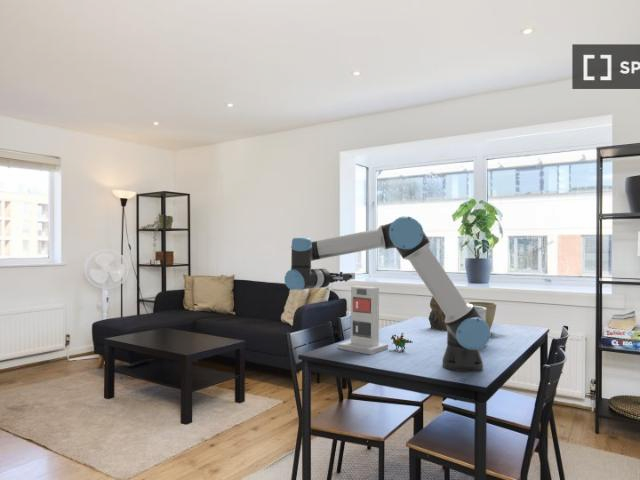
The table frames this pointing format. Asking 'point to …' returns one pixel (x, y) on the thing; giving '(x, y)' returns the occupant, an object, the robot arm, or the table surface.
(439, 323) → the owl
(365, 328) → the black rocker
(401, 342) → the figurine
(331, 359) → the table surface
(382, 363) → the table surface
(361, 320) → the rocker switch stand
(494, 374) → the table surface
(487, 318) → the plant pot
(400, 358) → the table surface
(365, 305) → the red rocker
